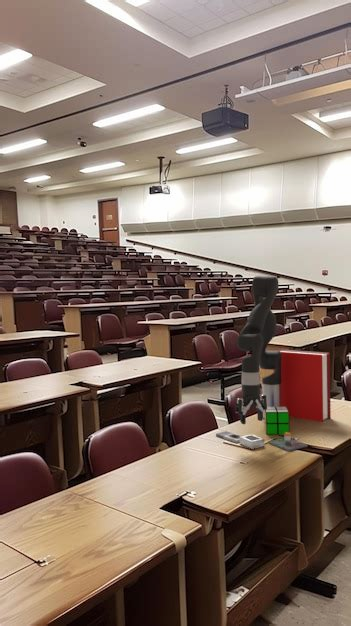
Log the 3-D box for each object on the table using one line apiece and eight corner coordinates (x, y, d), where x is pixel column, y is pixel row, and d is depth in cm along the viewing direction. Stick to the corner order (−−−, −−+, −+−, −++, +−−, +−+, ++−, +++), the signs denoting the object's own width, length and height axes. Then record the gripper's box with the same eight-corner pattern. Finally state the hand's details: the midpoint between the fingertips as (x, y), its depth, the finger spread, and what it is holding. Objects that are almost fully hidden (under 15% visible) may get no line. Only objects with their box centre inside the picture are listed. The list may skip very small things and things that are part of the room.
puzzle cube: (286, 428, 220) (286, 406, 219) (289, 434, 210) (289, 412, 209) (264, 428, 221) (263, 406, 220) (266, 434, 211) (265, 412, 210)
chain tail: (215, 436, 211) (215, 433, 210) (226, 433, 214) (226, 430, 214) (236, 443, 200) (236, 440, 200) (247, 439, 204) (247, 437, 204)
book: (330, 418, 233) (329, 352, 232) (323, 422, 227) (322, 354, 226) (280, 410, 252) (279, 349, 250) (272, 413, 246) (271, 351, 244)
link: (239, 443, 199) (239, 436, 199) (252, 441, 202) (251, 434, 202) (251, 449, 192) (251, 441, 192) (264, 446, 195) (264, 439, 195)
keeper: (268, 443, 199) (268, 431, 198) (286, 439, 204) (286, 427, 203) (288, 451, 188) (288, 438, 188) (307, 446, 193) (307, 434, 193)
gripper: (258, 379, 203) (259, 417, 203) (231, 383, 196) (232, 422, 196) (270, 382, 196) (271, 421, 197) (242, 386, 189) (243, 426, 190)
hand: (251, 422), depth 196 cm, fingers open, 8 cm apart
